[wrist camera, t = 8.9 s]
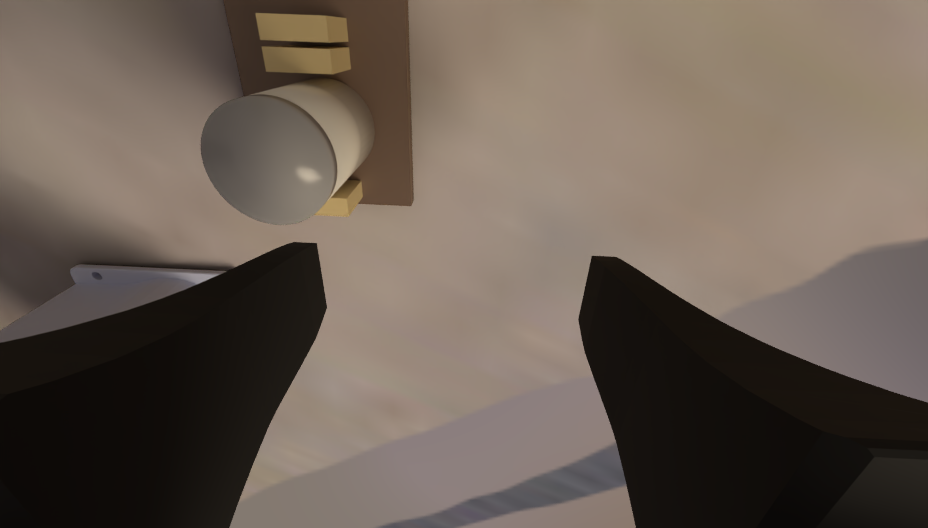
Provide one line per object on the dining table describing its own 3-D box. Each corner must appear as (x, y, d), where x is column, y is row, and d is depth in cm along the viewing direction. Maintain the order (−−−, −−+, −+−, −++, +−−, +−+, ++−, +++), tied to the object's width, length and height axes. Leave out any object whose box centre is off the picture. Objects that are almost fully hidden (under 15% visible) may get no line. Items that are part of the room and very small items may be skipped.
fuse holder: (273, 194, 20) (240, 219, 18) (195, -190, 14) (122, -247, 11) (413, 200, 20) (403, 226, 17) (402, -183, 14) (382, -239, 11)
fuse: (291, 170, 19) (220, 222, 14) (275, 75, 17) (183, 93, 12) (377, 174, 19) (338, 227, 14) (371, 79, 17) (322, 99, 12)
